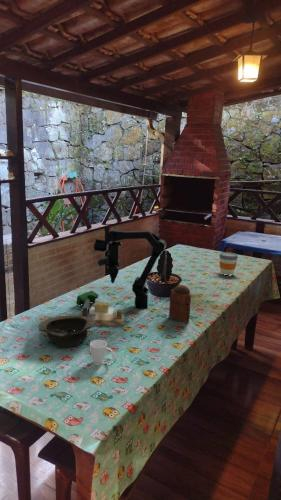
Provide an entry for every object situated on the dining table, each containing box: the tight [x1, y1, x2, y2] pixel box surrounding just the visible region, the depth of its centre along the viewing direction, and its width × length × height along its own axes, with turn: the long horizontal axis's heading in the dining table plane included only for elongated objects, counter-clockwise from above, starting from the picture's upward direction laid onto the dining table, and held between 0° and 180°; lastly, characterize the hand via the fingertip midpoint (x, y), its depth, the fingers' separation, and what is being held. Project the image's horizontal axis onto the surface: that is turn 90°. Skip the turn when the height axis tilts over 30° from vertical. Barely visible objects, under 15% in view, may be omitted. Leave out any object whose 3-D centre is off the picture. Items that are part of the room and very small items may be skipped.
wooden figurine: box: [168, 284, 192, 323], centre depth 184 cm, size 12×6×18 cm, turn 61°
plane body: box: [79, 309, 125, 326], centre depth 178 cm, size 22×7×6 cm, turn 91°
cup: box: [89, 339, 115, 366], centre depth 142 cm, size 7×10×8 cm
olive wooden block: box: [94, 301, 110, 312], centre depth 190 cm, size 7×4×4 cm, turn 91°
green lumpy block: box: [75, 290, 100, 306], centre depth 200 cm, size 12×6×9 cm, turn 138°
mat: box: [89, 306, 115, 314], centre depth 191 cm, size 12×9×1 cm
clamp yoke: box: [82, 299, 91, 317], centre depth 178 cm, size 2×11×9 cm, turn 1°
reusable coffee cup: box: [218, 251, 238, 275], centre depth 261 cm, size 13×13×15 cm
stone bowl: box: [38, 314, 97, 349], centre depth 161 cm, size 25×25×9 cm
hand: (113, 280), depth 200 cm, fingers open, 9 cm apart
